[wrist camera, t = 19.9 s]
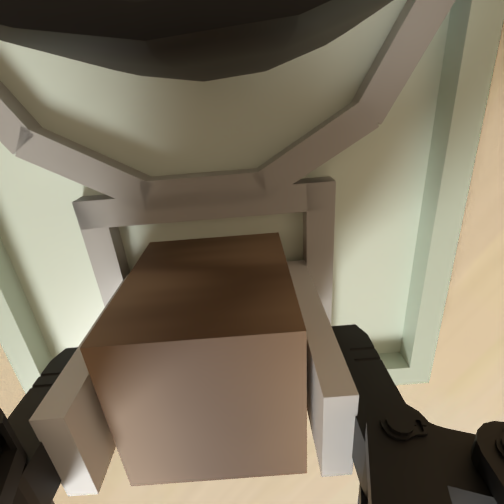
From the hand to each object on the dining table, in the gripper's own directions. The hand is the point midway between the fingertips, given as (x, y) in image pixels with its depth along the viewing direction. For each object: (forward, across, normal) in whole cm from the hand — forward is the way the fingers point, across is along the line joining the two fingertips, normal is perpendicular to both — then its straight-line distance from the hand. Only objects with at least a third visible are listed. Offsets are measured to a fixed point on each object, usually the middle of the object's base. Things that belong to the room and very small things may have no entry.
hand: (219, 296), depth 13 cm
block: (0, 0, 0) cm, 0 cm away
